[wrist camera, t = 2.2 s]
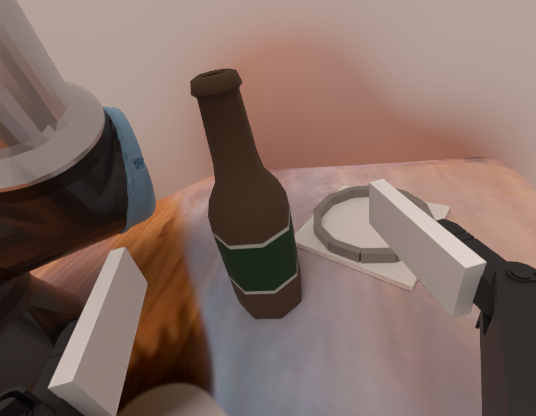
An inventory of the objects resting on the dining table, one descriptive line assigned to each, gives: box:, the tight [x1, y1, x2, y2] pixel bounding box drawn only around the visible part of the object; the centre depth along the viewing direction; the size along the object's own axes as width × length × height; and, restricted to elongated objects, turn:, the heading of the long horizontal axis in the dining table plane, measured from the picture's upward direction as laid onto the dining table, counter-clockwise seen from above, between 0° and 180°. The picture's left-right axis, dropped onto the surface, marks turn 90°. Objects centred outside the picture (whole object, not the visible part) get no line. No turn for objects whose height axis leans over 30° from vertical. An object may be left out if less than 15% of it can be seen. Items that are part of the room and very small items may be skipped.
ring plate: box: [294, 185, 450, 292], centre depth 39 cm, size 16×16×2 cm
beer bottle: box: [190, 69, 301, 319], centre depth 26 cm, size 8×8×24 cm
